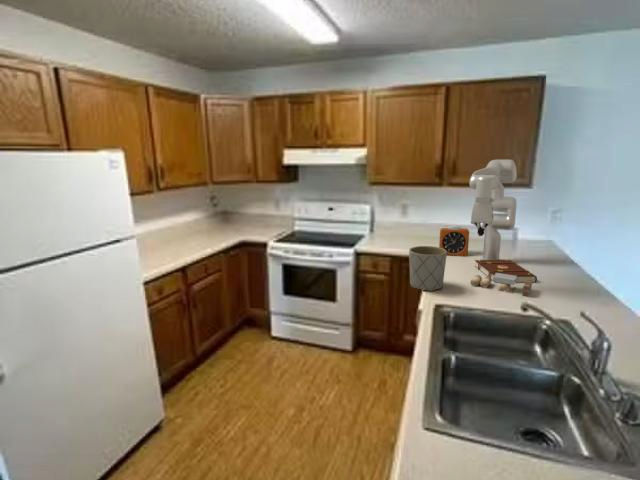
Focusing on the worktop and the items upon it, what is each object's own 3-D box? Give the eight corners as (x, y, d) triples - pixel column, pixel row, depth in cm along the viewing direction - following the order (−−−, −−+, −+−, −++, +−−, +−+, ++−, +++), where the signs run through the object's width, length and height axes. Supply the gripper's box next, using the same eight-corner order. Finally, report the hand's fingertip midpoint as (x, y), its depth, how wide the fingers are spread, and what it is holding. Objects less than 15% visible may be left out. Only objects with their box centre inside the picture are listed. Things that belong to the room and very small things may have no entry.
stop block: (526, 288, 197) (526, 279, 196) (531, 289, 196) (532, 280, 195) (522, 295, 188) (523, 286, 186) (527, 296, 186) (528, 287, 185)
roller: (504, 288, 201) (501, 281, 201) (512, 285, 199) (509, 278, 199) (501, 292, 195) (498, 285, 195) (509, 290, 192) (506, 283, 193)
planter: (417, 278, 217) (418, 244, 213) (450, 284, 206) (452, 249, 201) (401, 287, 203) (402, 251, 199) (436, 295, 191) (437, 257, 187)
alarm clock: (439, 255, 262) (440, 226, 258) (438, 252, 271) (440, 224, 266) (467, 256, 258) (469, 227, 254) (466, 253, 266) (468, 224, 262)
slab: (495, 277, 203) (496, 272, 202) (516, 280, 197) (517, 275, 196) (492, 281, 196) (493, 276, 196) (514, 284, 191) (514, 280, 190)
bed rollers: (474, 281, 210) (474, 274, 209) (515, 287, 198) (516, 280, 198) (470, 285, 203) (470, 278, 202) (512, 293, 191) (513, 285, 190)
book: (494, 283, 207) (495, 274, 206) (473, 266, 238) (474, 258, 236) (536, 283, 206) (537, 274, 205) (510, 266, 237) (511, 258, 236)
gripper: (500, 200, 194) (497, 235, 198) (470, 199, 202) (467, 232, 206) (497, 202, 188) (494, 238, 192) (466, 200, 196) (464, 235, 200)
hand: (480, 235), depth 199 cm, fingers closed
